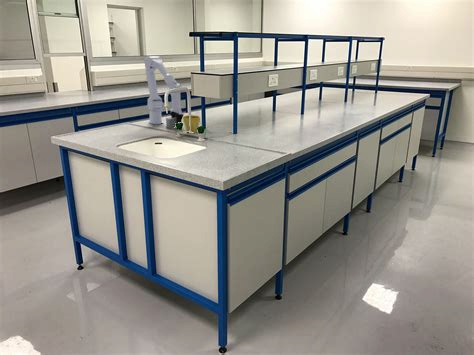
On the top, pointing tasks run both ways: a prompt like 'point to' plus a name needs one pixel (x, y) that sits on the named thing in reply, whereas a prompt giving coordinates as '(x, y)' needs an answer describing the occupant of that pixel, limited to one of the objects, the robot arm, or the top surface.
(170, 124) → the grey block
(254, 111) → the top surface
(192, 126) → the plant pot
